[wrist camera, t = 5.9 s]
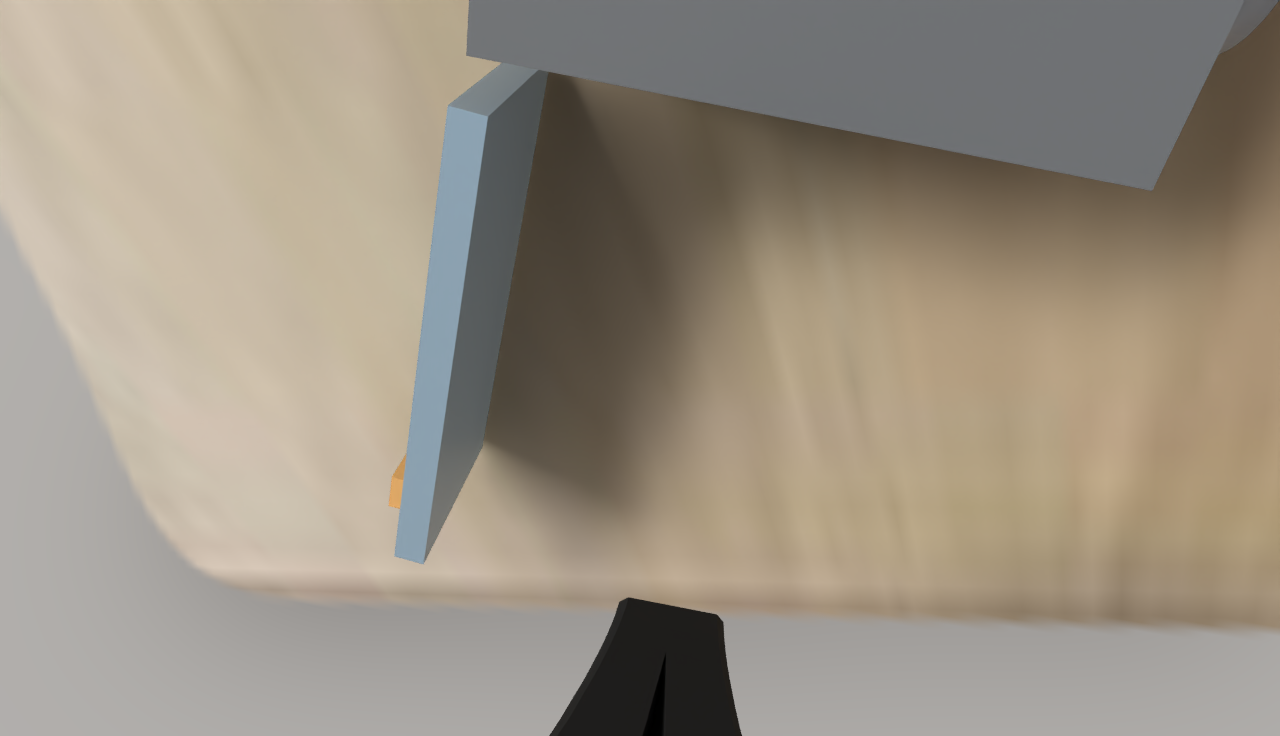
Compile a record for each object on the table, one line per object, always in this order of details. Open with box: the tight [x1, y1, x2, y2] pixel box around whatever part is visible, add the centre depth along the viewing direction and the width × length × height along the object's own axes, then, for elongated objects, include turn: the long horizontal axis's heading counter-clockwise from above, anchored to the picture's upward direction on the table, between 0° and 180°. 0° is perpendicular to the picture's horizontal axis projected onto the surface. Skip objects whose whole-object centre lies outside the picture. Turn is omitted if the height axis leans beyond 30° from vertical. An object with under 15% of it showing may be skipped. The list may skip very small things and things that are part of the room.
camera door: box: [389, 63, 548, 564], centre depth 17 cm, size 9×1×4 cm, turn 167°
